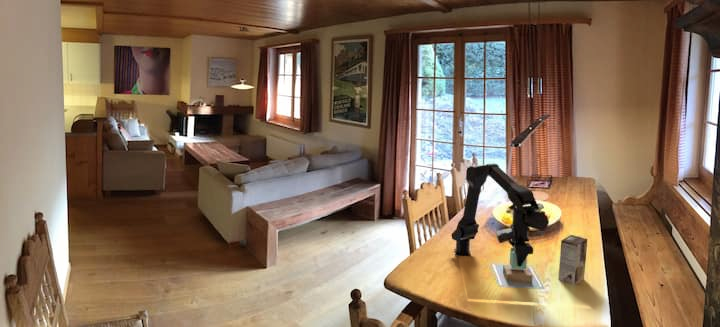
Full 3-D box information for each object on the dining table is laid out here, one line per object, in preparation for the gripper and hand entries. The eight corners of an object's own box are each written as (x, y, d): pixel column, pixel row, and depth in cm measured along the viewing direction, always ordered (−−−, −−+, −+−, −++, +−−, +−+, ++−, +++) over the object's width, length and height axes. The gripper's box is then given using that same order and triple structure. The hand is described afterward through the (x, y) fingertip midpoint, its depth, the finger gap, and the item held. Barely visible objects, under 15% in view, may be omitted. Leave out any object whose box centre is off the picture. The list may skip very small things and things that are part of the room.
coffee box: (567, 274, 190) (570, 234, 187) (584, 279, 185) (588, 238, 183) (557, 281, 184) (560, 239, 181) (574, 286, 179) (578, 244, 176)
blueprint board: (490, 265, 199) (490, 263, 198) (531, 267, 197) (531, 265, 197) (498, 288, 177) (498, 286, 177) (544, 291, 175) (545, 288, 175)
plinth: (502, 272, 190) (503, 264, 189) (526, 273, 189) (527, 266, 188) (506, 281, 181) (507, 274, 180) (532, 283, 180) (532, 275, 179)
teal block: (509, 263, 187) (510, 248, 186) (523, 264, 186) (524, 248, 185) (512, 268, 182) (513, 252, 181) (526, 269, 181) (527, 253, 180)
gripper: (494, 215, 191) (492, 253, 194) (502, 230, 173) (499, 272, 176) (524, 216, 190) (521, 255, 193) (535, 231, 172) (531, 273, 174)
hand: (517, 263), depth 184 cm, fingers closed on teal block, 5 cm apart
